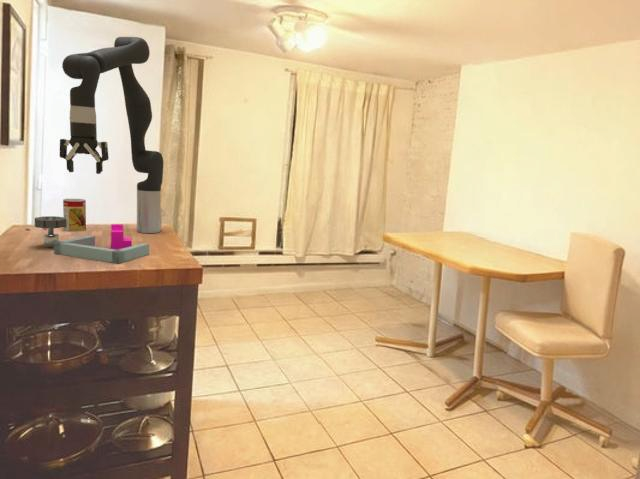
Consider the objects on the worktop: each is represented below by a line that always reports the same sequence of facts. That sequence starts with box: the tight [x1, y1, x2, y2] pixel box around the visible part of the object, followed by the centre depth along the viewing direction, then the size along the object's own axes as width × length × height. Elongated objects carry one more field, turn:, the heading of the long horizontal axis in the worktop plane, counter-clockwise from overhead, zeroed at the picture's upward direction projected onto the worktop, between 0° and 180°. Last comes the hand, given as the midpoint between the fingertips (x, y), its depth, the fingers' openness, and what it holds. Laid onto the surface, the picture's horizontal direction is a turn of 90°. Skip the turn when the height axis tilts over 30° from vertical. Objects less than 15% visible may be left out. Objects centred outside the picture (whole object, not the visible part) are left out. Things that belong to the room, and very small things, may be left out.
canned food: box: [62, 198, 87, 232], centre depth 186 cm, size 8×8×12 cm
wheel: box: [34, 215, 66, 229], centre depth 155 cm, size 9×9×2 cm
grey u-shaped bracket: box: [53, 235, 150, 264], centre depth 152 cm, size 15×24×4 cm, turn 75°
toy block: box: [110, 223, 133, 250], centre depth 161 cm, size 15×6×8 cm, turn 23°
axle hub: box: [42, 218, 60, 249], centre depth 156 cm, size 4×4×10 cm
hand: (84, 172), depth 152 cm, fingers open, 8 cm apart
